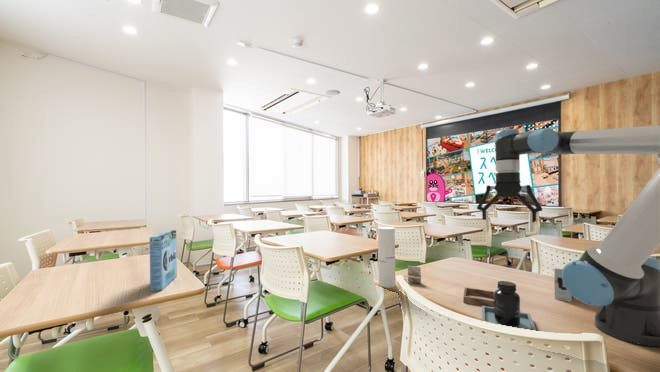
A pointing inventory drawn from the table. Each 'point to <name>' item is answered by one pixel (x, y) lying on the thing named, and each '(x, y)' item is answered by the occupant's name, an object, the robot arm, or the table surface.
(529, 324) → the tray
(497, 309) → the supplement bottle
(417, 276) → the architectural model
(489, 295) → the frame
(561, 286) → the ink box
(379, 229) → the cylindrical container
